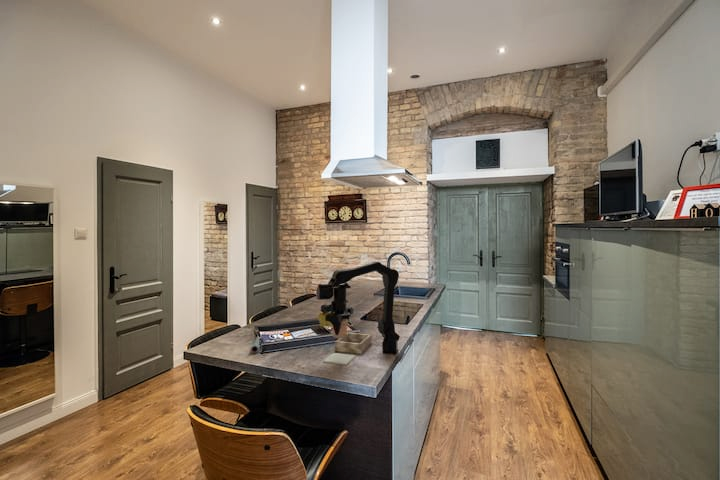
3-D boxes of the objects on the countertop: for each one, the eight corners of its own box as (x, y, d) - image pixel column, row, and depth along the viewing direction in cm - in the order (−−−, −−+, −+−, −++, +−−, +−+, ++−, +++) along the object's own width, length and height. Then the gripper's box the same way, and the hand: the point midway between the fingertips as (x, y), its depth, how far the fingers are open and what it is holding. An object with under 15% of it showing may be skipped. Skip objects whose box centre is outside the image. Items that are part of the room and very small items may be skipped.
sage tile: (355, 356, 155) (355, 355, 155) (346, 365, 145) (346, 363, 145) (333, 354, 159) (333, 352, 159) (323, 362, 149) (323, 360, 149)
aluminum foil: (257, 339, 185) (257, 333, 185) (270, 338, 186) (270, 332, 186) (250, 353, 163) (250, 346, 163) (265, 352, 164) (265, 345, 164)
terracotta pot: (350, 334, 155) (350, 318, 155) (344, 338, 148) (344, 322, 148) (335, 333, 157) (335, 317, 157) (329, 337, 151) (329, 320, 151)
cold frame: (371, 343, 174) (371, 334, 174) (361, 353, 159) (361, 344, 159) (347, 341, 179) (347, 332, 179) (335, 350, 163) (334, 341, 163)
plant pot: (332, 333, 194) (332, 316, 194) (315, 332, 196) (315, 315, 196) (337, 328, 204) (337, 312, 204) (321, 327, 206) (321, 311, 206)
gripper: (332, 294, 164) (332, 326, 164) (314, 300, 147) (314, 336, 147) (353, 295, 160) (353, 328, 160) (337, 302, 143) (337, 339, 143)
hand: (339, 332), depth 153 cm, fingers closed on terracotta pot, 6 cm apart
